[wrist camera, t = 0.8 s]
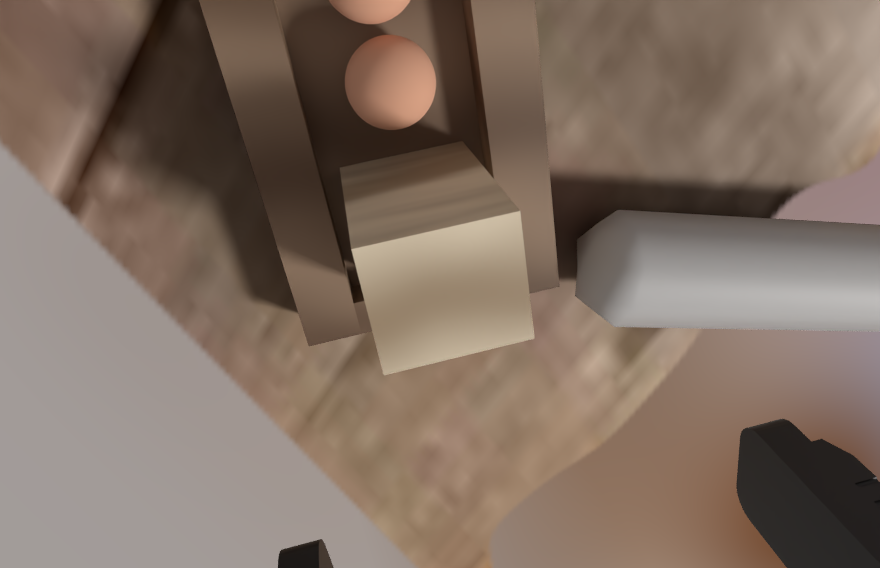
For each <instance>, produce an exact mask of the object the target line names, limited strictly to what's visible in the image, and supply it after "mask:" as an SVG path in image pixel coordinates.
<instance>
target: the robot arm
mask: <svg viewBox="0 0 880 568" xmlns="http://www.w3.org/2000/svg"><path fill="white" fill-rule="evenodd" d="M737 493H738V497H739V500H740V503H741V505H742V508H743V510H744V512H745V514H746V515H747V517H748V518H749V520H750V521H751V522H752V524H753V525H754V526H755V527H756V529H757V530H758V531H759V533H760V534H761V535H762V536H763V538H764V539H765V540H766V542H767V543H768V544H769V545H770V547H771V548H772V549H773V551H774V552H775V553H776V554H777V556H778V557H779V558H780V559H781V561H782V562H783V563H784V565H785V566H786V567H787V568H880V482H879V481H878V480H877V477H876V476H875V475H874V474H873V473H872V472H871V471H869V470H868V469H867V468H866V467H865V466H864V465H863V464H862V463H861V462H860V461H858V460H857V459H856V458H855V457H854V456H853V455H851V454H850V453H848V452H846V451H843V450H842V449H840V448H838V447H836V446H834V445H832V444H830V443H828V442H826V441H825V440H823V439H820V440H816V441H813V442H811V441H810V440H809V439H808V438H807V437H806V436H805V435H804V434H803V433H802V432H801V431H800V430H799V429H798V428H797V427H796V426H794V425H793V424H792V423H791V422H790V421H788V420H785V419H779V420H775V421H772V422H768V423H764V424H760V425H757V426H753V427H749V428H745V429H743V431H742V433H741V436H740V447H739V460H738V473H737ZM278 568H333V565H332V563H331V559H330V557H329V554H328V551H327V549H326V546H325V544H324V542H323V540H322V539H320V540H317V541H313V542H309V543H305V544H301V545H298V546H294V547H290V548H287V549H283V550H281V551H280V554H279V559H278Z"/></svg>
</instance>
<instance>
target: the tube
mask: <svg viewBox="0 0 880 568" xmlns="http://www.w3.org/2000/svg"><path fill="white" fill-rule="evenodd" d="M575 296H576V297H577V298H578V299H580V300H581V301H582V302H583V303H585V304H586V305H587V306H588V307H590V308H591V309H592V310H593V311H595V312H596V313H597V314H599V315H600V316H601V317H602V318H604V319H605V320H606V321H608V322H609V323H610V324H611V325H613V326H614V327H656V328H715V329H769V330H770V329H771V330H827V331H880V225H871V224H854V223H838V222H820V221H804V220H785V219H769V218H752V217H735V216H718V215H701V214H684V213H666V212H649V211H632V210H617V211H615V212H614V213H612V214H611V215H609V216H608V217H606V218H605V219H603V220H602V221H600V222H599V223H597V224H596V225H595V226H593V227H592V228H591V229H590V230H588V231H587V232H586V233H584V234H583V235H582V236H581V237H579V238H578V239H577V280H576V292H575Z"/></svg>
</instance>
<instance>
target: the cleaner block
mask: <svg viewBox="0 0 880 568" xmlns="http://www.w3.org/2000/svg"><path fill="white" fill-rule="evenodd" d="M340 174H341V181H342V188H343V195H344V202H345V209H346V216H347V223H348V230H349V237H350V244H351V250H352V254H353V258H354V262H355V266H356V269H357V273H358V277H359V281H360V285H361V289H362V293H363V297H364V301H365V305H366V308H367V312H368V316H369V320H370V324H371V328H372V332H373V336H374V340H375V343H376V347H377V351H378V355H379V359H380V363H381V367H382V371H383V375H387V374H391V373H395V372H400V371H404V370H408V369H412V368H416V367H420V366H424V365H428V364H432V363H436V362H440V361H444V360H449V359H453V358H457V357H461V356H465V355H469V354H473V353H477V352H481V351H485V350H489V349H493V348H498V347H502V346H506V345H510V344H514V343H518V342H522V341H526V340H530V339H534V329H533V320H532V311H531V303H530V294H529V285H528V276H527V267H526V258H525V249H524V240H523V231H522V222H521V213H520V210H519V209H518V208H517V206H516V205H515V204H514V203H513V202H512V200H511V199H510V198H509V197H508V196H507V194H506V193H505V192H504V191H503V189H502V188H501V187H500V186H499V185H498V183H497V182H496V181H495V180H494V179H493V177H492V176H491V175H490V174H489V173H488V171H487V170H486V169H485V168H484V166H483V165H482V164H481V163H480V162H479V160H478V159H477V158H476V157H475V156H474V154H473V153H472V152H471V151H470V150H469V148H468V147H467V146H466V145H465V143H464V142H463V141H460V142H456V143H451V144H446V145H442V146H437V147H433V148H428V149H423V150H419V151H414V152H409V153H405V154H400V155H396V156H391V157H386V158H382V159H377V160H372V161H368V162H363V163H359V164H354V165H349V166H345V167H340Z"/></svg>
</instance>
